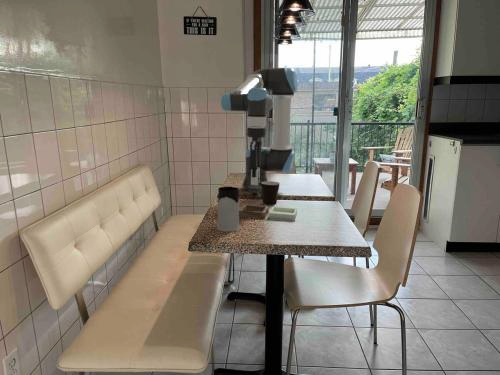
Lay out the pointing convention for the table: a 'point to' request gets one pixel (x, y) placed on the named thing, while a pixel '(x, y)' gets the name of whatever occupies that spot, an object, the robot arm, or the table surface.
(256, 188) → the marbled chess piece
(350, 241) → the table surface
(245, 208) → the walnut holder
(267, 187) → the coffee mug
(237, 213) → the white and black cylinder
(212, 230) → the table surface
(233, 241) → the table surface
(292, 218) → the sage tray
